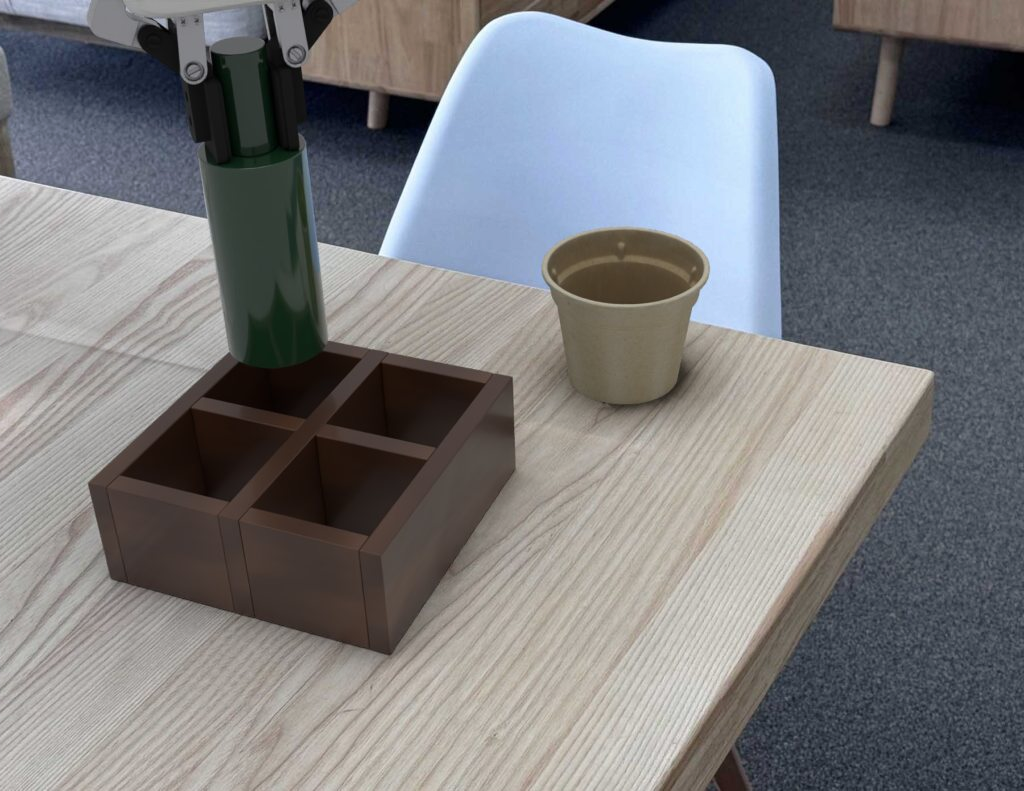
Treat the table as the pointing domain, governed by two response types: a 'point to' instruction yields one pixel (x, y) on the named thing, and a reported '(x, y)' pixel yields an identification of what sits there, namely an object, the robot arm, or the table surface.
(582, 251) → the flower pot
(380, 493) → the box
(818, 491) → the table surface
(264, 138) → the bottle
